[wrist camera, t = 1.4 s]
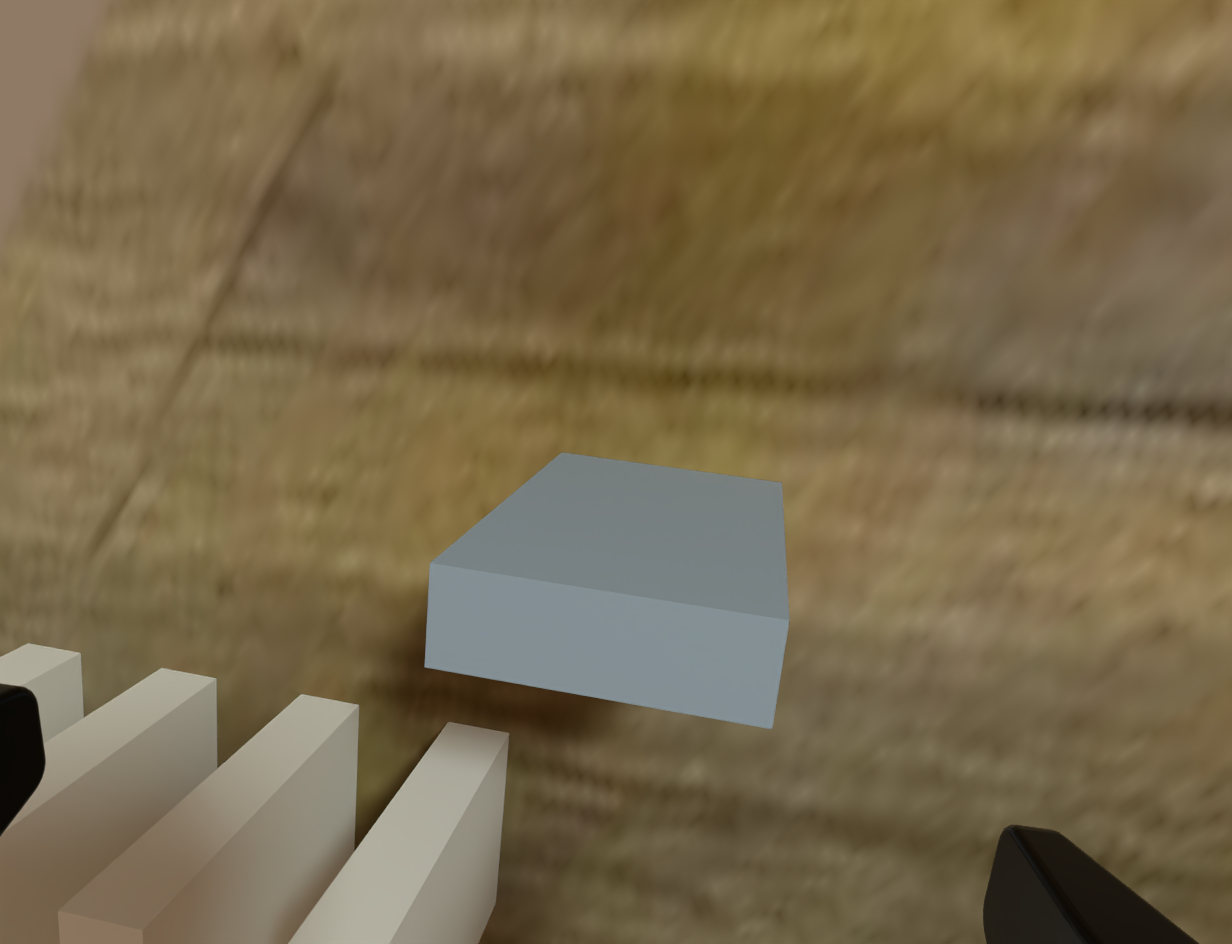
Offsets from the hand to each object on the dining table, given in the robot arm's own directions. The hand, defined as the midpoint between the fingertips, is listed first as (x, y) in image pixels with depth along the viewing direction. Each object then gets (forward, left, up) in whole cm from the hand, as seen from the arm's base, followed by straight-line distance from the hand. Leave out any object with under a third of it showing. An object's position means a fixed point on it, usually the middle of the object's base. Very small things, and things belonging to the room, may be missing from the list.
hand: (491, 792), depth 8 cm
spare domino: (0, 0, -12) cm, 12 cm away
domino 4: (-5, +9, -12) cm, 16 cm away
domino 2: (0, +15, -12) cm, 19 cm away
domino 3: (-3, +12, -12) cm, 17 cm away
